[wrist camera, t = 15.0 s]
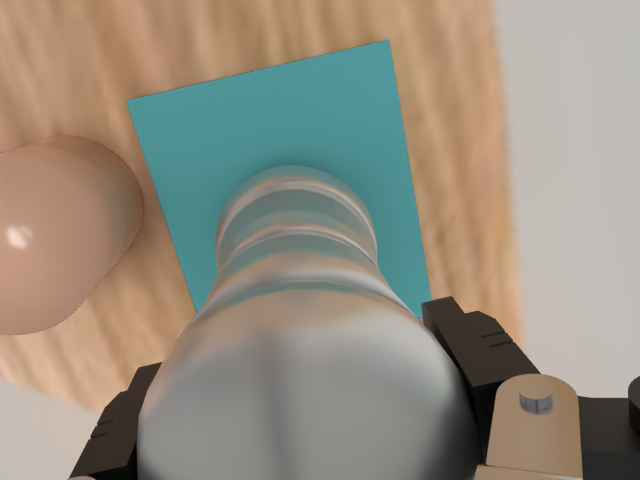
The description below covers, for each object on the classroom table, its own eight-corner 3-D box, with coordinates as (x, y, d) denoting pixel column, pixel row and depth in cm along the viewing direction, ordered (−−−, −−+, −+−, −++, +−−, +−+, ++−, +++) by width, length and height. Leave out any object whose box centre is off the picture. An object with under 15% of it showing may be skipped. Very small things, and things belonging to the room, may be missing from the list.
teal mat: (128, 100, 23) (125, 100, 23) (387, 40, 23) (389, 39, 23) (214, 361, 28) (214, 365, 28) (431, 312, 28) (433, 315, 28)
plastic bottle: (308, 315, 25) (396, 1061, 6) (191, 235, 24) (-161, 935, 5) (394, 215, 24) (830, 780, 5) (278, 122, 22) (279, 458, 3)
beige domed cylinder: (-19, 153, 24) (-135, 187, 17) (117, 121, 24) (53, 143, 17) (36, 278, 26) (-48, 351, 19) (161, 249, 26) (119, 313, 19)
